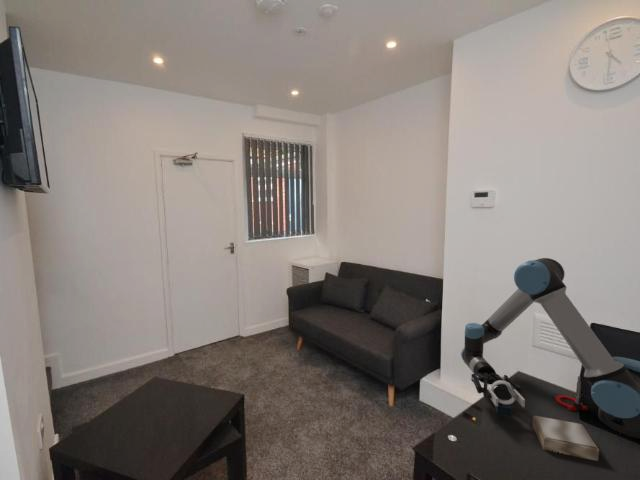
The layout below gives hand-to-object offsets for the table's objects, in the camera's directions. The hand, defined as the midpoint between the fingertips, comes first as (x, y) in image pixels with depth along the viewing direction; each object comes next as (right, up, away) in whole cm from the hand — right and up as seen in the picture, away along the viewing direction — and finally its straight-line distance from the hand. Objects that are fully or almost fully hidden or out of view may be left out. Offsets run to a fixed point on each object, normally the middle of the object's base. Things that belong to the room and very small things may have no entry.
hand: (510, 402), depth 111 cm
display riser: (+13, -9, -6) cm, 17 cm away
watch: (0, -6, +5) cm, 8 cm away
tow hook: (+31, -8, +14) cm, 35 cm away
